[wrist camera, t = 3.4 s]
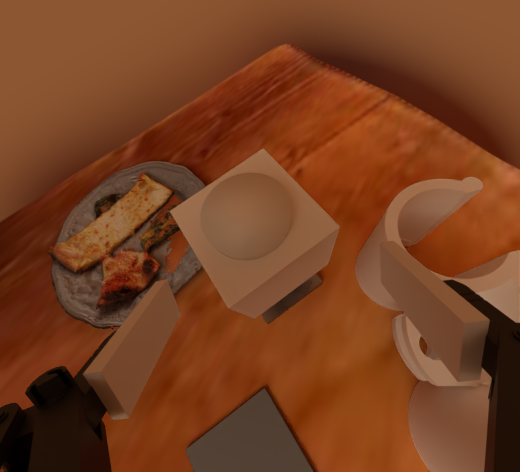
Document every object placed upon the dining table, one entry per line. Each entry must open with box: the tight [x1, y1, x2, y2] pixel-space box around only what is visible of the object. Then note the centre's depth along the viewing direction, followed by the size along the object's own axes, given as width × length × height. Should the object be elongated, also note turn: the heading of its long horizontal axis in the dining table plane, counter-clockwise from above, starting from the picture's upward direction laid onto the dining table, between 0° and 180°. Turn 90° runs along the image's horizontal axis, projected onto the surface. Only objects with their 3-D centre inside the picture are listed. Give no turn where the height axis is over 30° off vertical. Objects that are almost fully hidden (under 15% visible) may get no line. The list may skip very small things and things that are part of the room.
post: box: [261, 274, 323, 324], centre depth 26 cm, size 8×8×11 cm
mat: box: [186, 388, 314, 472], centre depth 24 cm, size 10×10×1 cm
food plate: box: [48, 161, 206, 329], centre depth 35 cm, size 25×23×4 cm
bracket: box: [355, 177, 520, 472], centre depth 20 cm, size 25×10×12 cm, turn 13°
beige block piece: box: [170, 148, 340, 319], centre depth 19 cm, size 8×8×9 cm
